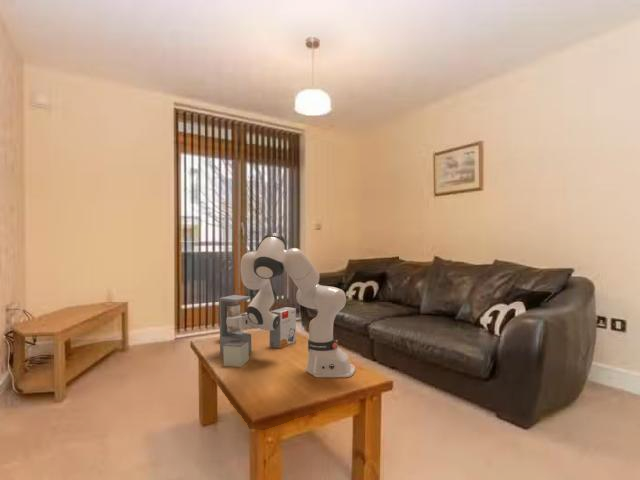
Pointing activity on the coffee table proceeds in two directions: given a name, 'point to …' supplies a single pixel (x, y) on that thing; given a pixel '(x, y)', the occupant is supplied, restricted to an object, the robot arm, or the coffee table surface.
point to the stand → (236, 353)
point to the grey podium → (225, 335)
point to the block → (232, 311)
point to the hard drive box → (284, 328)
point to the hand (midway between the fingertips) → (232, 316)
